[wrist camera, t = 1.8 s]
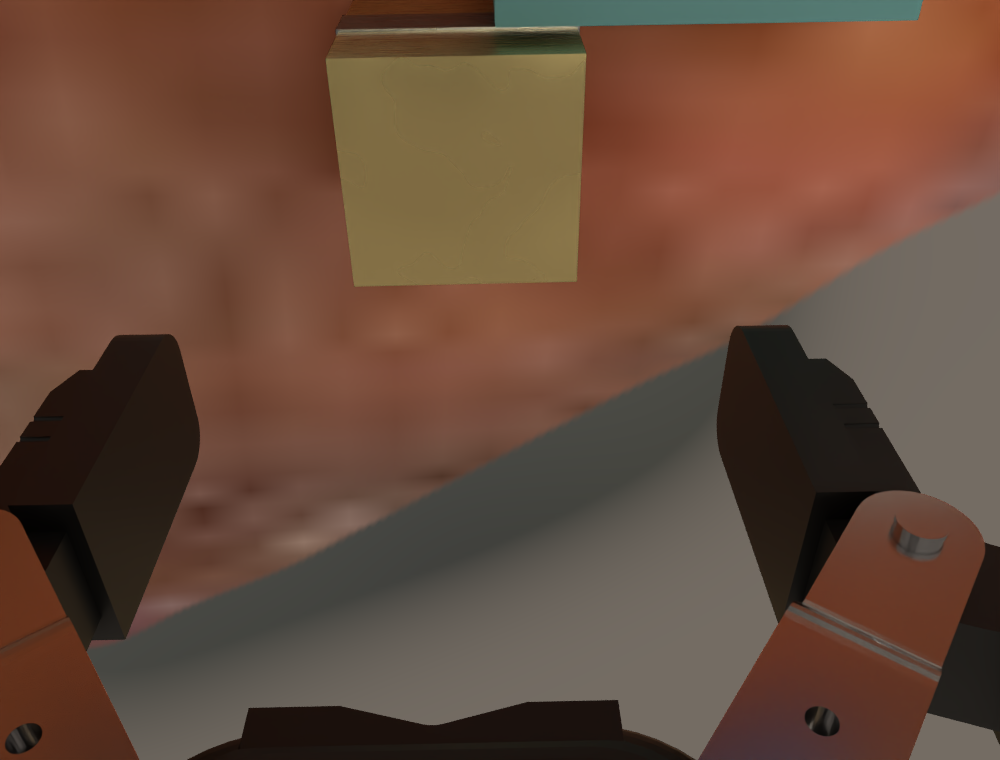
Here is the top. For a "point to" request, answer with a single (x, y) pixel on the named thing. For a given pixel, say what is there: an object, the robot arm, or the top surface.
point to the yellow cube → (457, 144)
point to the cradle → (696, 12)
